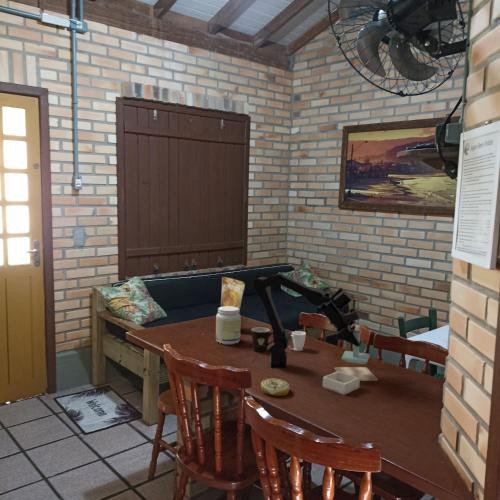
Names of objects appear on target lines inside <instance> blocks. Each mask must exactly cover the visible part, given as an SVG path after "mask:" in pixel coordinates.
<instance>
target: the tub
mask: <svg viewBox="0 0 500 500" xmlns="http://www.w3.org/2000/svg"><path fill="white" fill-rule="evenodd" d="M360 382H361V381H360V378H358V377H355V376H352V375H349V374H346V373H343V372H340V371H335V372H333V373H329V374H327V375H324V376H322V388H324V389H326V390H329V391H332V392H335V393H338V394H340V395H343V396H345V395H347V394H349V393H352V392H354V391H356V390H359V389H360Z"/></svg>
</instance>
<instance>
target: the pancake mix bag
mask: <svg viewBox="0 0 500 500" xmlns="http://www.w3.org/2000/svg"><path fill="white" fill-rule="evenodd" d="M245 287H246V284H245V282H244V281H242V280H239V279H236V278H235V279H234V278H232V277H227V276H223V277H221V294H220V295H221V297H220V307H224V306H232V307H237V308H239V312H240V310H241V304H242V300H243V295H244V292H245Z"/></svg>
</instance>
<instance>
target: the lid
mask: <svg viewBox="0 0 500 500" xmlns="http://www.w3.org/2000/svg"><path fill="white" fill-rule="evenodd" d="M353 334H354V336H355V338H356V339H357V341H358V342H360V341H361V335H362V331H361V330H356V329H355V330H354V332H353ZM352 345H353V344H352ZM369 358H370V353H366V352H360V346H359V347H357V346H355V345H353V349H352V351H350V350H345V351H344V352H343V354H342V356H341V360H342V361H344V362H345V363H350V364H358V365H359V364H360V365H365V364H368V361H369Z"/></svg>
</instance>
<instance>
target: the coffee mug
mask: <svg viewBox="0 0 500 500" xmlns="http://www.w3.org/2000/svg"><path fill="white" fill-rule="evenodd" d="M271 335H273V331H272V332H271V330H270V329H269V328H268V327H260V326H259V327H253V328H251V338H252V339H251V340H252V350H253V351H254V352H255V353H261V354H262V353H266V352H267V351H268V346H269V345H271V344H272V343H274V340H272V341H270V342H269V338H270V337H271Z"/></svg>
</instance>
